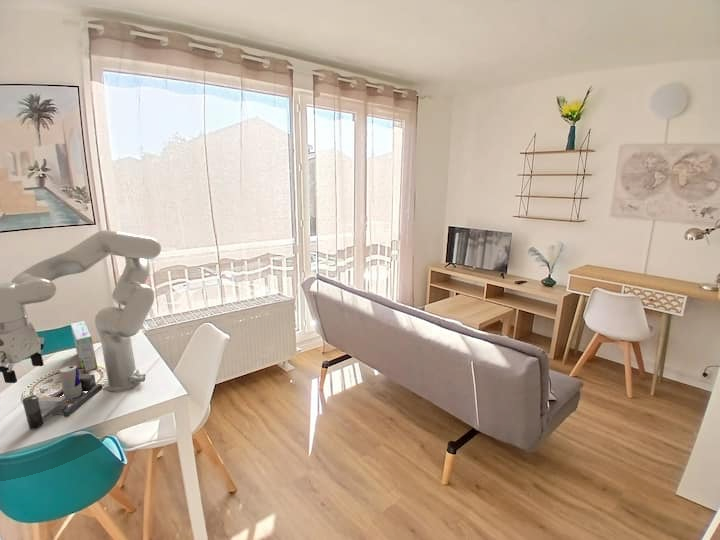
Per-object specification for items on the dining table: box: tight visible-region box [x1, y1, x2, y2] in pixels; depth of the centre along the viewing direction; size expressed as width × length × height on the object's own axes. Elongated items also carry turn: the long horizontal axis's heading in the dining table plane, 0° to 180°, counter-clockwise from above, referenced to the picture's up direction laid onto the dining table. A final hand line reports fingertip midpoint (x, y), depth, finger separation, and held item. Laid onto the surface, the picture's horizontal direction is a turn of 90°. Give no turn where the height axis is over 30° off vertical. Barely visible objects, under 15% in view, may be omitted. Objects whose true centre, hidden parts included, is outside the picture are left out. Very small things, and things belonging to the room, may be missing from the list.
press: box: [50, 373, 103, 418], centre depth 136 cm, size 12×17×6 cm
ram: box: [22, 395, 69, 430], centre depth 125 cm, size 8×10×10 cm
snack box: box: [70, 320, 99, 373], centre depth 163 cm, size 21×6×15 cm, turn 42°
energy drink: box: [59, 364, 84, 402], centre depth 137 cm, size 5×5×12 cm
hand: (25, 373), depth 118 cm, fingers open, 9 cm apart
